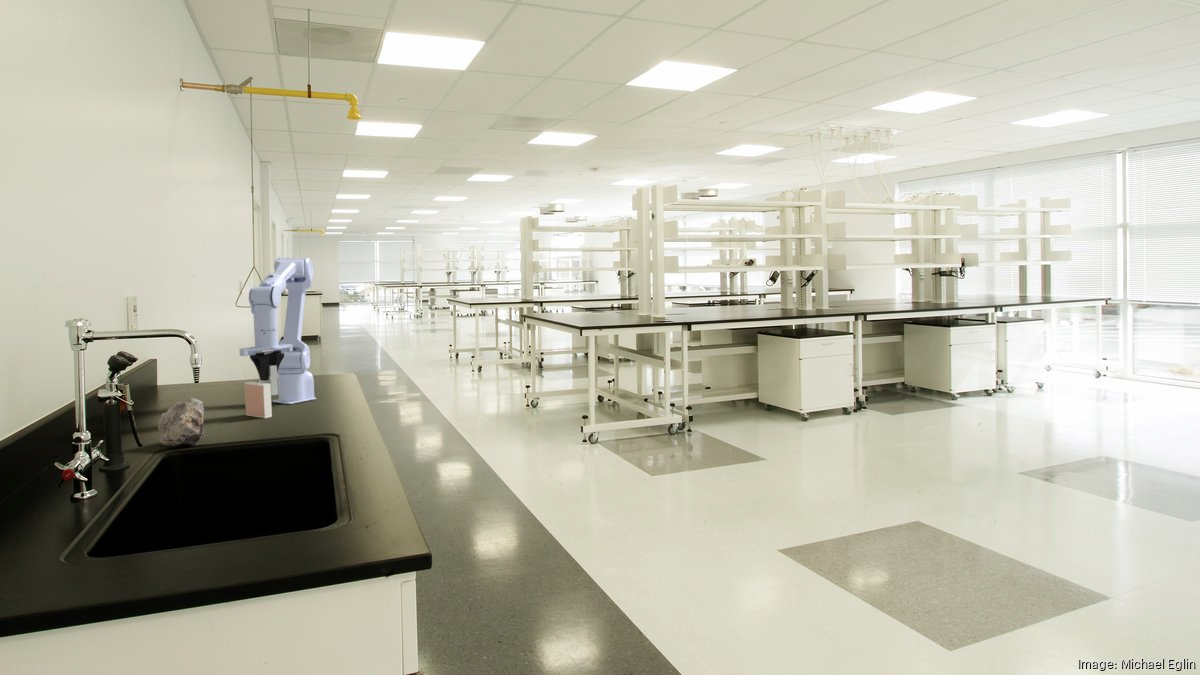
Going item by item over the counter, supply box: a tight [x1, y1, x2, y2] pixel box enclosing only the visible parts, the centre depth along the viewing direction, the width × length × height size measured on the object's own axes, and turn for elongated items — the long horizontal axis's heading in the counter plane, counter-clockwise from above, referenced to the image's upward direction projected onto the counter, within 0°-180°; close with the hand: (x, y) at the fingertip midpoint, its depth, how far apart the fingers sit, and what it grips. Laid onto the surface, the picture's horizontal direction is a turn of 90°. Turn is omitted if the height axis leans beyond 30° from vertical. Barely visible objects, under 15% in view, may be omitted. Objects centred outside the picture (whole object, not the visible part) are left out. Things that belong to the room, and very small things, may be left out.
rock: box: [157, 397, 205, 447], centre depth 146 cm, size 9×12×10 cm
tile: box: [244, 381, 273, 419], centre depth 175 cm, size 2×8×9 cm, turn 62°
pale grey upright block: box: [258, 365, 279, 396], centre depth 178 cm, size 2×5×8 cm, turn 63°
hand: (268, 379), depth 178 cm, fingers closed on pale grey upright block, 2 cm apart
